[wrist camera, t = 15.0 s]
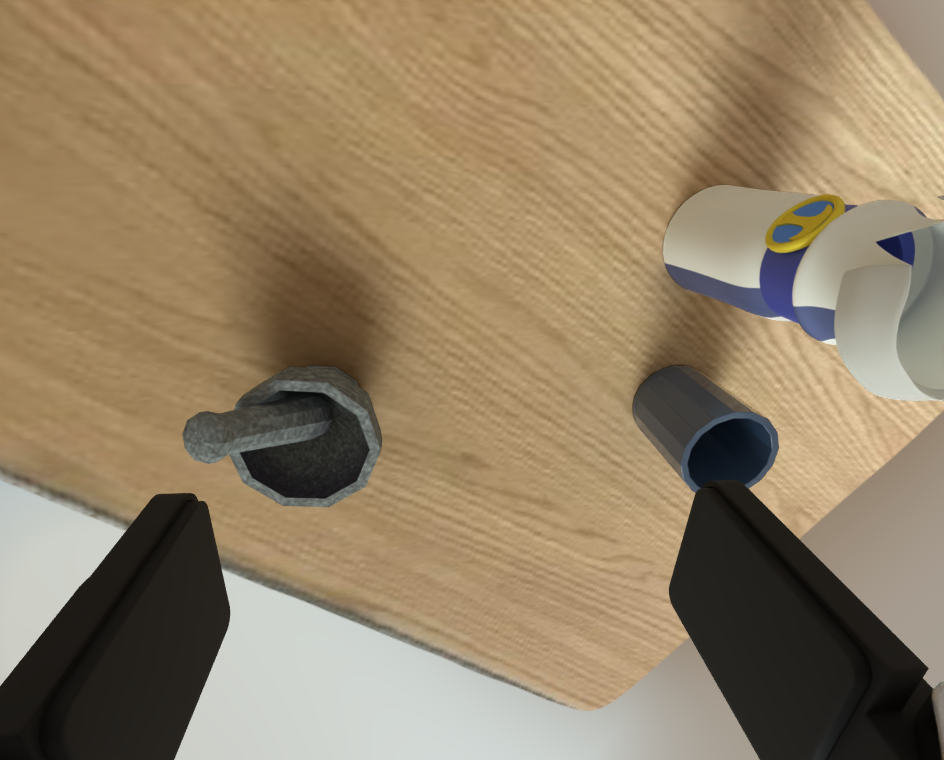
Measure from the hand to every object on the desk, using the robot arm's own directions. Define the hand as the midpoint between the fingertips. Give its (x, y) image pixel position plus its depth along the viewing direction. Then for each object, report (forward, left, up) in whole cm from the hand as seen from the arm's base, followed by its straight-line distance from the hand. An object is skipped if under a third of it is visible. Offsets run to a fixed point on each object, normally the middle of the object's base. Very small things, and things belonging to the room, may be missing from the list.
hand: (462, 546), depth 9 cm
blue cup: (+10, +20, -28) cm, 36 cm away
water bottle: (-3, +20, -28) cm, 35 cm away
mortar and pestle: (+10, -9, -28) cm, 31 cm away
